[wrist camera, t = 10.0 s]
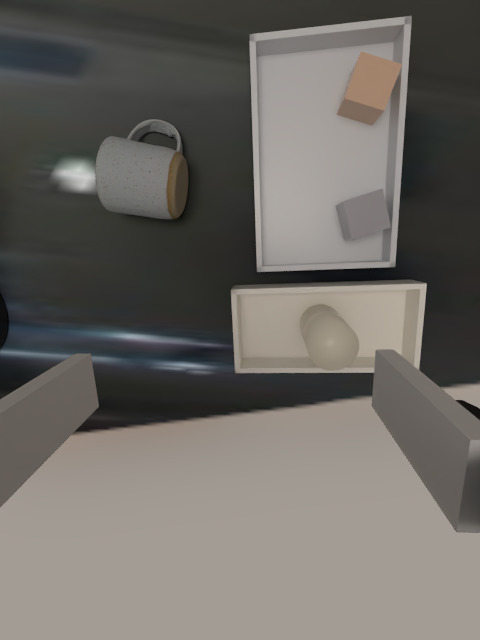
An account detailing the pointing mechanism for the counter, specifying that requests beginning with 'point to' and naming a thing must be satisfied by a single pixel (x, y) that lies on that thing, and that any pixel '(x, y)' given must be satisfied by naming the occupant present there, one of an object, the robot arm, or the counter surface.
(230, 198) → the counter surface
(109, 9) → the counter surface
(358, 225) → the gray cube
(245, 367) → the bin
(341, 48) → the tray
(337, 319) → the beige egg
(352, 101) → the orange cube
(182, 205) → the ceramic mug
